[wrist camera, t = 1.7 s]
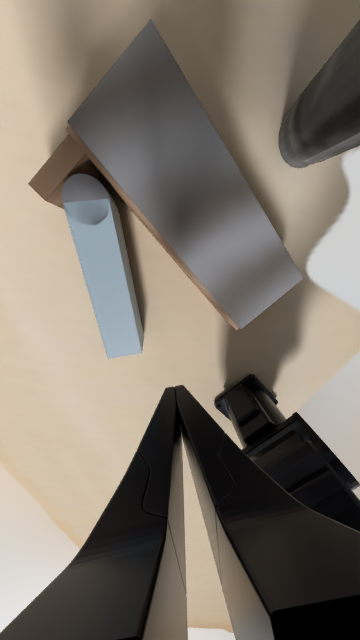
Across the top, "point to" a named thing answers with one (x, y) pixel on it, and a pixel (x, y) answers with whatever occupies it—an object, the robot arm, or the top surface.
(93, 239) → the bar
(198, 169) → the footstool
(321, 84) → the beverage cup
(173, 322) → the top surface
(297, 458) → the robot arm
